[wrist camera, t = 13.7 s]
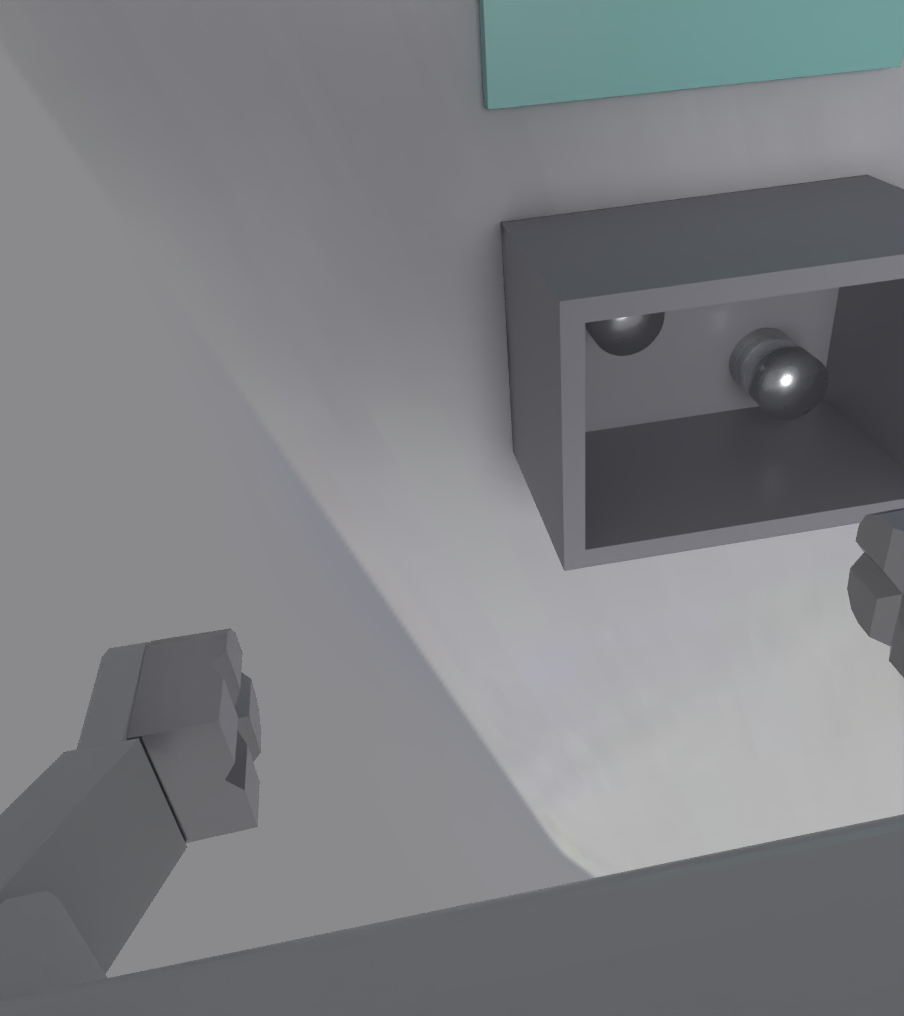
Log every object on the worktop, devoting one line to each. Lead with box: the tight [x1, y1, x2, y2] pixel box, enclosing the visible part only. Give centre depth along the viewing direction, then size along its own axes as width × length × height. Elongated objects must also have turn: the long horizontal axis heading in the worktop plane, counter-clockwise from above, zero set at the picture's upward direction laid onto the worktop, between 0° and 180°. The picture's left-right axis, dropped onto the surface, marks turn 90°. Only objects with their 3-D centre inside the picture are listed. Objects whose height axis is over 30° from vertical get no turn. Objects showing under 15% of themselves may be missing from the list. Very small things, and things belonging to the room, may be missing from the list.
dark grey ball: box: [585, 312, 665, 356], centre depth 43 cm, size 4×4×4 cm
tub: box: [501, 175, 904, 571], centre depth 42 cm, size 13×19×12 cm
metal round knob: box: [729, 327, 828, 420], centre depth 46 cm, size 4×4×4 cm
